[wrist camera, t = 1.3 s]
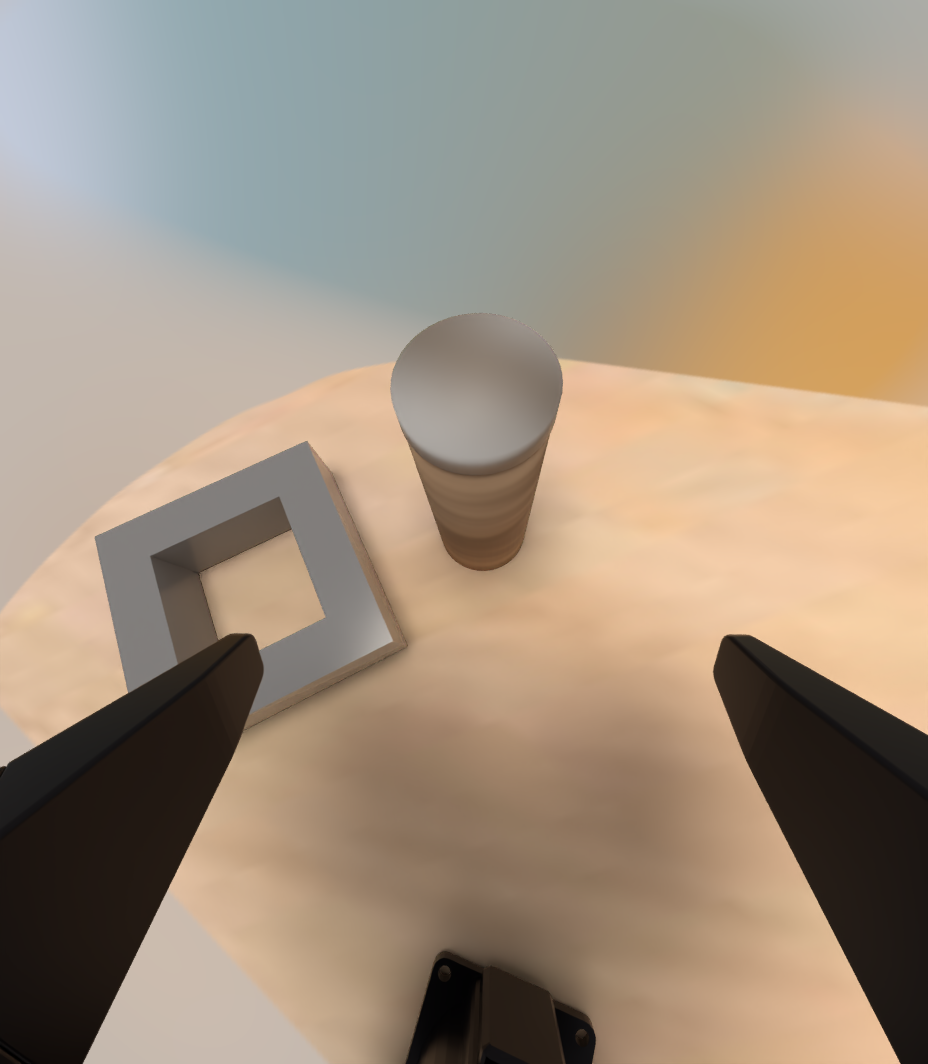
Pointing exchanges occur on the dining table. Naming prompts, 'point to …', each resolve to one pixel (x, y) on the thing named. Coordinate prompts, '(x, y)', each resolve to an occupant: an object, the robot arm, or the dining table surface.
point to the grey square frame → (224, 531)
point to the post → (478, 428)
